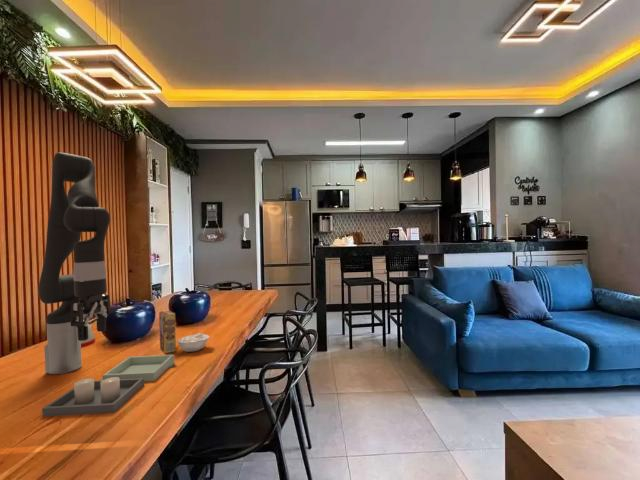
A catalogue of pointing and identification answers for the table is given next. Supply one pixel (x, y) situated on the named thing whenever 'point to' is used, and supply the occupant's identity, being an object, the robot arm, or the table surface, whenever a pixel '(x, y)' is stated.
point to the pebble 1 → (84, 391)
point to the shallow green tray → (141, 367)
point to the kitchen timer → (89, 337)
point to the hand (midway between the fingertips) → (92, 335)
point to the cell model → (193, 342)
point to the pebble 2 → (110, 389)
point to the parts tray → (95, 406)
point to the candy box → (167, 331)
